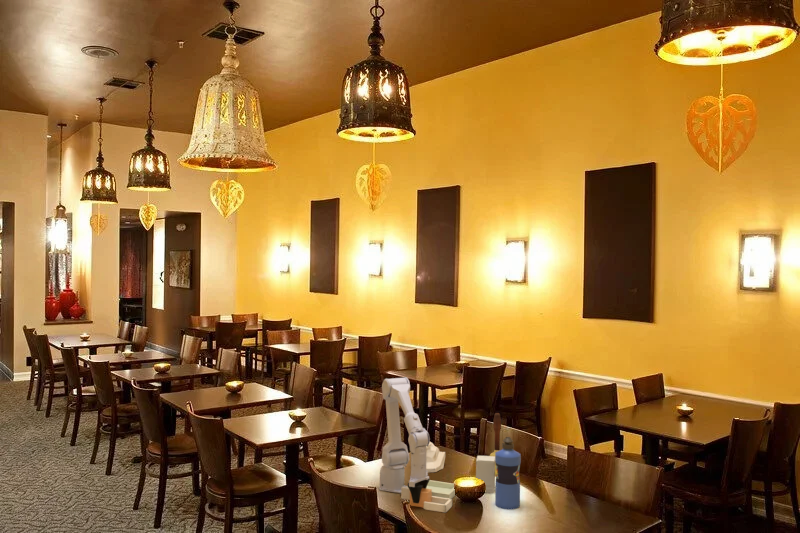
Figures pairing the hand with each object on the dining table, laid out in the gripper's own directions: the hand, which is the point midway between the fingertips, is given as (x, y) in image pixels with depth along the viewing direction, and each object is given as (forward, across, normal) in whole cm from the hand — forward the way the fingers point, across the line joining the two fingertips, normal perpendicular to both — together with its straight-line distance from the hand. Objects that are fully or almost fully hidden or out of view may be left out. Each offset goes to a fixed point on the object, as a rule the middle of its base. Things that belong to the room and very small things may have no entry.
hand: (418, 500), depth 244 cm
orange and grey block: (+1, 0, +1) cm, 2 cm away
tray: (+1, +14, 0) cm, 14 cm away
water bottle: (+2, +13, -30) cm, 33 cm away
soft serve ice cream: (+2, +43, +12) cm, 45 cm away
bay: (+1, 0, -7) cm, 7 cm away
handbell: (+2, +52, -16) cm, 55 cm away
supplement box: (+2, +26, -18) cm, 32 cm away
